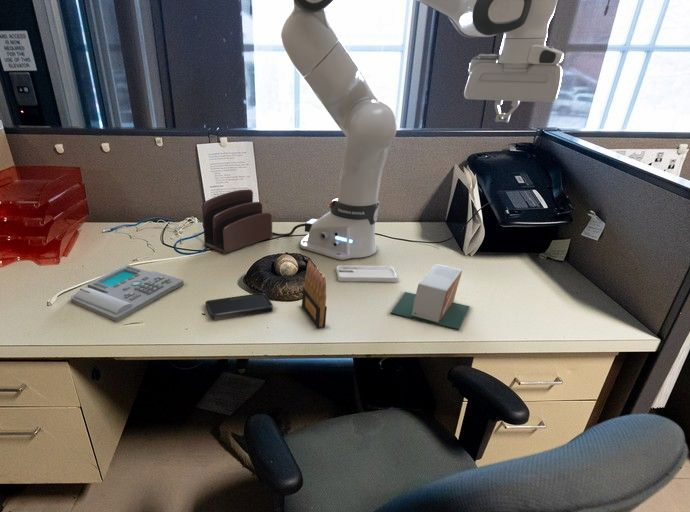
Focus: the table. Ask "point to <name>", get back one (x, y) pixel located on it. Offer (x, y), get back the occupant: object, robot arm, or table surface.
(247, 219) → the letter holder
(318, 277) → the ammunition clip
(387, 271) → the phone case
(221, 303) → the phone
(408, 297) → the mat
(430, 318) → the small box
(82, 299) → the office telephone
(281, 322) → the table surface
